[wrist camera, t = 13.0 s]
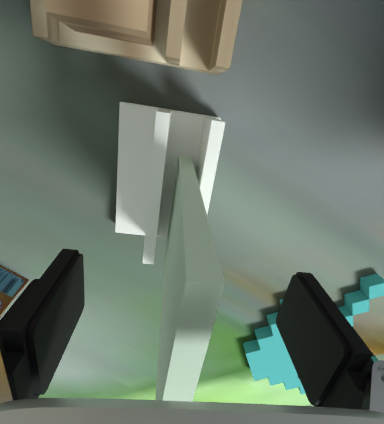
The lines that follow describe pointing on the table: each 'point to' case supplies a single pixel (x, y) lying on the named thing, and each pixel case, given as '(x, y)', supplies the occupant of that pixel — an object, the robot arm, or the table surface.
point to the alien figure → (276, 350)
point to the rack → (161, 35)
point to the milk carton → (9, 287)
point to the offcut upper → (105, 15)
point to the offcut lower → (120, 36)
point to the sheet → (187, 290)
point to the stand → (160, 166)
